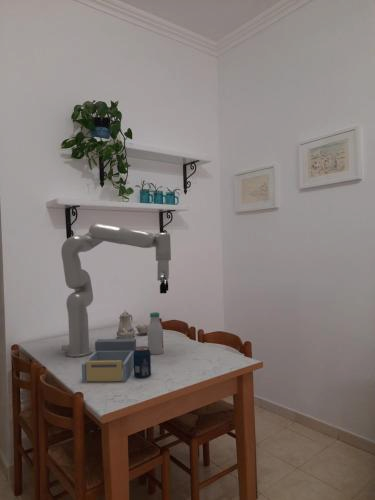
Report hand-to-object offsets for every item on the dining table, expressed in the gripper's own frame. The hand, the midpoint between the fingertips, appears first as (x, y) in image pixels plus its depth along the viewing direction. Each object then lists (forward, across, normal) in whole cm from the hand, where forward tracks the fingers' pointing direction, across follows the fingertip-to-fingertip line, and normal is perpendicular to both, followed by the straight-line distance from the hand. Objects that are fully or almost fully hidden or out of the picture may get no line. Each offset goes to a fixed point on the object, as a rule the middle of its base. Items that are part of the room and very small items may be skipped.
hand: (164, 291), depth 177 cm
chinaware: (+31, -30, -24) cm, 50 cm away
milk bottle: (+31, -1, -5) cm, 31 cm away
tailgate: (+30, +38, -21) cm, 53 cm away
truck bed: (+31, +28, -21) cm, 46 cm away
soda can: (+31, +32, -7) cm, 45 cm away
